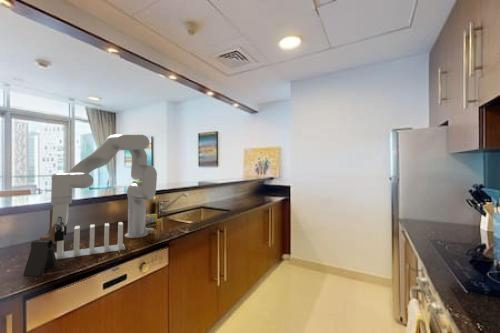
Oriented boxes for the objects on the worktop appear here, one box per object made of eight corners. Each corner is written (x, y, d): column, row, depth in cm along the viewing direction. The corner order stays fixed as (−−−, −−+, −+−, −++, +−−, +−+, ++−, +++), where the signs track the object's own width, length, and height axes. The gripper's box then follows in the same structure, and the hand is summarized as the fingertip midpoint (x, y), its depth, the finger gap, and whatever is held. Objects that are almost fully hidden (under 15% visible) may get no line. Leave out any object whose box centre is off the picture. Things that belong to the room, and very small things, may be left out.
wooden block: (46, 246, 121) (47, 211, 121) (39, 245, 122) (40, 210, 122) (63, 241, 130) (64, 208, 130) (57, 240, 131) (58, 207, 131)
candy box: (133, 229, 158) (134, 216, 158) (132, 228, 160) (132, 216, 160) (157, 225, 170) (157, 213, 170) (156, 225, 172) (156, 213, 172)
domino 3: (94, 248, 118) (94, 224, 118) (93, 252, 113) (94, 227, 113) (89, 249, 117) (90, 224, 117) (89, 253, 112) (90, 227, 112)
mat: (123, 244, 127) (123, 243, 127) (125, 250, 118) (125, 249, 118) (50, 254, 111) (50, 253, 111) (46, 261, 102) (46, 260, 102)
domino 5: (121, 245, 125) (122, 221, 125) (122, 248, 120) (123, 224, 120) (117, 245, 124) (118, 222, 124) (118, 249, 119) (119, 224, 119)
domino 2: (79, 250, 115) (79, 225, 115) (78, 254, 110) (79, 228, 110) (74, 251, 114) (75, 226, 114) (73, 255, 109) (74, 228, 109)
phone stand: (43, 266, 98) (44, 237, 98) (58, 266, 98) (59, 237, 98) (22, 276, 89) (23, 244, 89) (39, 276, 89) (40, 244, 89)
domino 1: (56, 257, 106) (57, 230, 106) (58, 253, 111) (59, 227, 111) (61, 257, 107) (62, 230, 107) (63, 252, 112) (64, 227, 112)
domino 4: (108, 246, 121) (108, 223, 122) (108, 250, 116) (109, 225, 116) (104, 247, 120) (104, 223, 121) (104, 251, 115) (104, 226, 116)
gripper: (54, 198, 114) (53, 234, 114) (47, 203, 100) (46, 244, 100) (73, 197, 118) (72, 232, 118) (70, 202, 104) (68, 241, 104)
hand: (60, 238), depth 109 cm, fingers open, 9 cm apart
